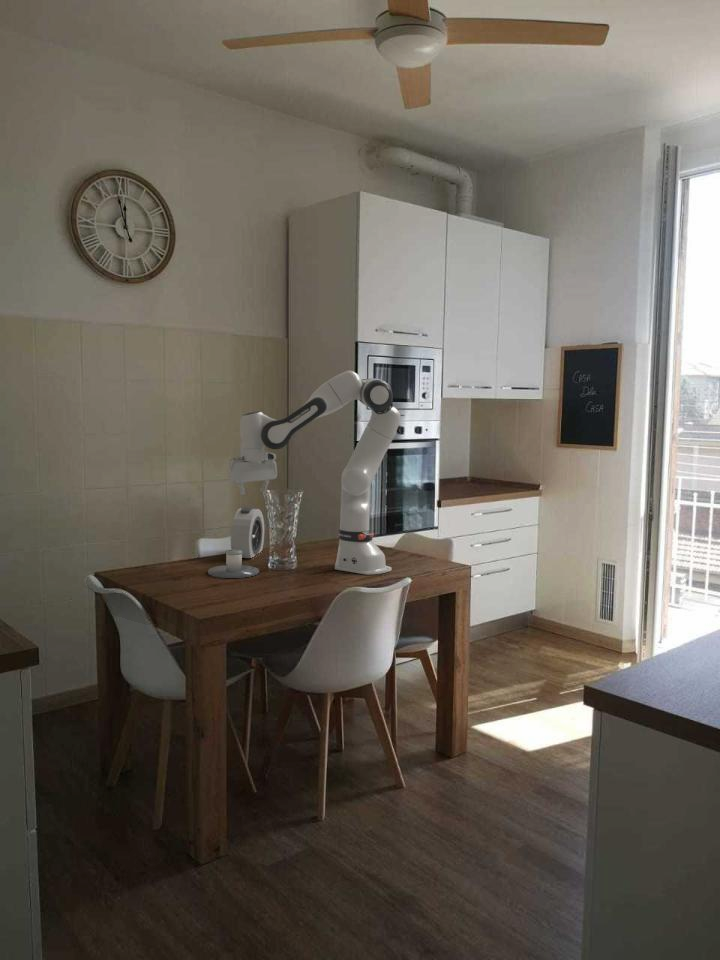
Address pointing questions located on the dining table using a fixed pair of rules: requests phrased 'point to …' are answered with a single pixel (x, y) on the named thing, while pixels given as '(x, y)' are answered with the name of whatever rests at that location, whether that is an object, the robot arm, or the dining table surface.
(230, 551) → the cup
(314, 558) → the dining table surface
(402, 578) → the dining table surface
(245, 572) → the disc
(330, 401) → the robot arm
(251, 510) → the alarm clock
